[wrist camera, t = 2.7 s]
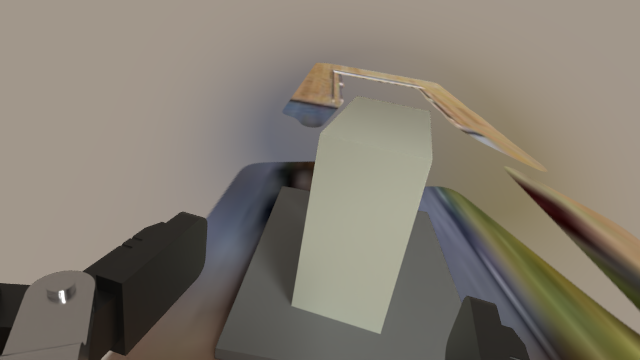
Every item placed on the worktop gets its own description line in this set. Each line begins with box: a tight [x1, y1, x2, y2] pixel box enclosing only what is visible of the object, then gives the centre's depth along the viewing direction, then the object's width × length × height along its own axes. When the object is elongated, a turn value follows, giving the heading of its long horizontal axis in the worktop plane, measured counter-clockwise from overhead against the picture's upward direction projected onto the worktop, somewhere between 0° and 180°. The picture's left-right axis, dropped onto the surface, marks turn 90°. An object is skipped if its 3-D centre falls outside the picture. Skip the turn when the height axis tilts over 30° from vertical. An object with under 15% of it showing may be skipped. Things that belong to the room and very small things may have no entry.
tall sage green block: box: [291, 96, 433, 334], centre depth 28 cm, size 12×6×12 cm, turn 164°
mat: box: [215, 186, 462, 360], centre depth 31 cm, size 22×16×1 cm
